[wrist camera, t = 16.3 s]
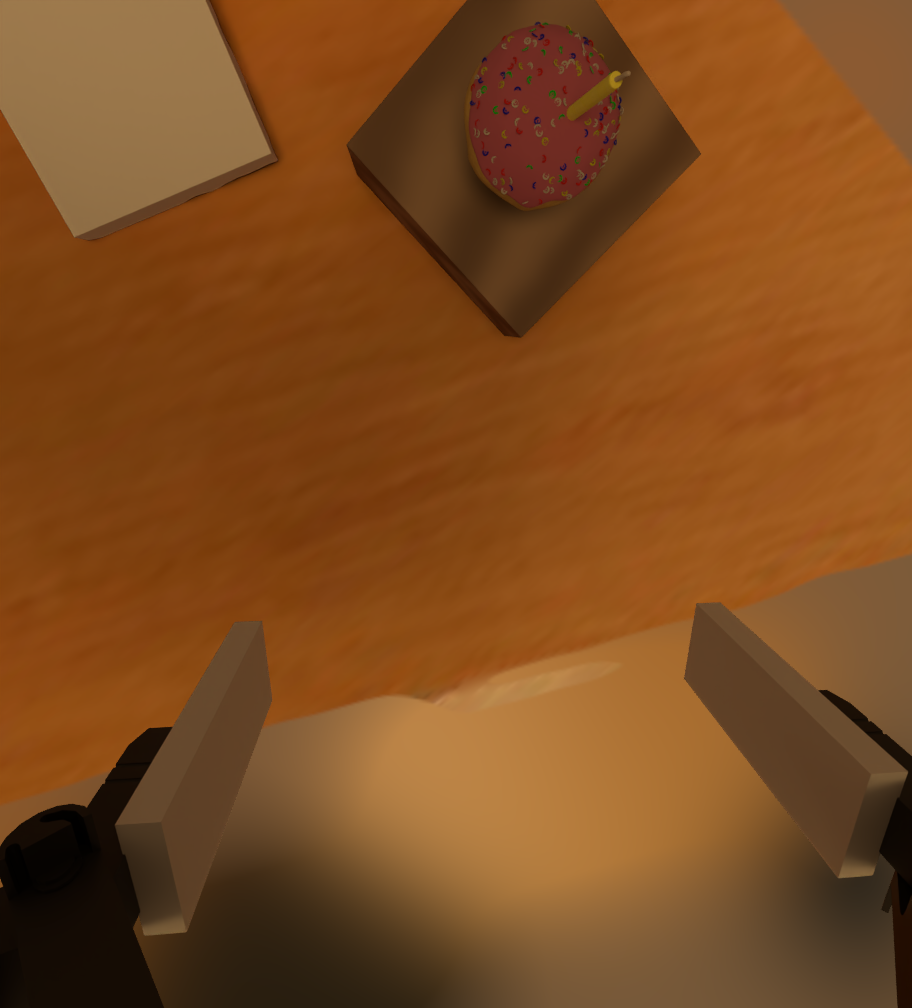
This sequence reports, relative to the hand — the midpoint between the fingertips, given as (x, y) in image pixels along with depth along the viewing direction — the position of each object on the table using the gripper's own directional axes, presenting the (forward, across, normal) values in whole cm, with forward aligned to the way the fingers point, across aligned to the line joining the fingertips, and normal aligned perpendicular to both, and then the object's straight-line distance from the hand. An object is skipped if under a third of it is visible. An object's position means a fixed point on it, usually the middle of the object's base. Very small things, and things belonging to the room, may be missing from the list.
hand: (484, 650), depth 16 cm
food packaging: (+32, -22, +27) cm, 48 cm away
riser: (+32, +6, +20) cm, 38 cm away
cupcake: (+25, +5, +20) cm, 32 cm away
